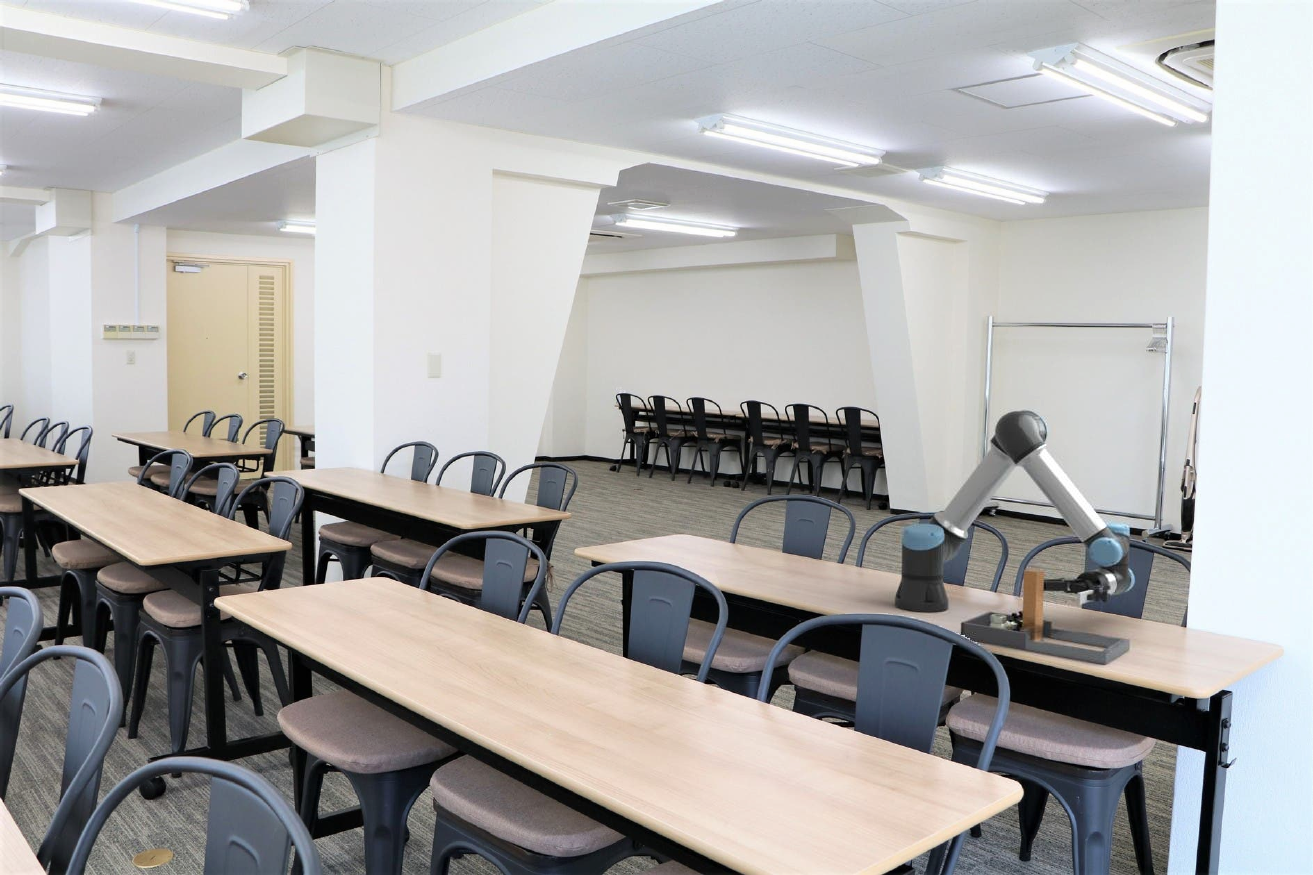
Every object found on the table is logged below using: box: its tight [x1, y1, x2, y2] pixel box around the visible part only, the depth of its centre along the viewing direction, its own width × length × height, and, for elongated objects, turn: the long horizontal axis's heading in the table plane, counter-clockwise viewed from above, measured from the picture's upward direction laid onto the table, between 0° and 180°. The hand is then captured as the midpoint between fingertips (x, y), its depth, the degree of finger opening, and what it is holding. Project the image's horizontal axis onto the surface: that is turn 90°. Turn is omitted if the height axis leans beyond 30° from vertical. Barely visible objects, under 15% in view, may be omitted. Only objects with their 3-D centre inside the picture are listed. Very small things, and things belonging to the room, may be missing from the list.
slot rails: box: [1024, 626, 1131, 666], centre depth 239 cm, size 18×18×2 cm
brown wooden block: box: [1020, 568, 1045, 642], centre depth 246 cm, size 13×4×18 cm, turn 139°
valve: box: [989, 610, 1023, 632], centre depth 250 cm, size 7×7×12 cm
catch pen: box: [960, 611, 1053, 651], centre depth 251 cm, size 18×16×4 cm
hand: (1053, 593), depth 252 cm, fingers open, 13 cm apart
